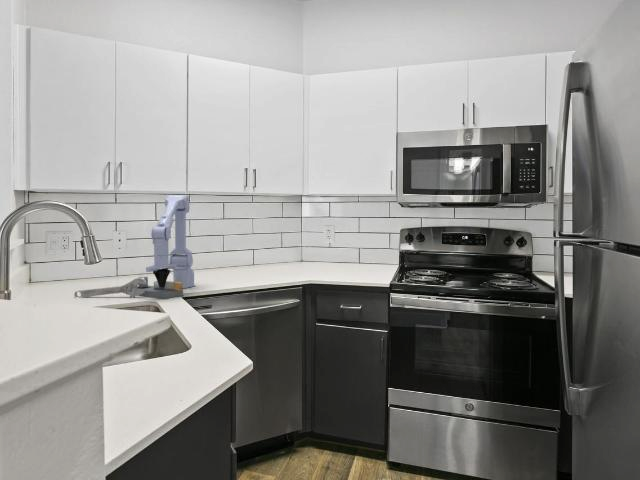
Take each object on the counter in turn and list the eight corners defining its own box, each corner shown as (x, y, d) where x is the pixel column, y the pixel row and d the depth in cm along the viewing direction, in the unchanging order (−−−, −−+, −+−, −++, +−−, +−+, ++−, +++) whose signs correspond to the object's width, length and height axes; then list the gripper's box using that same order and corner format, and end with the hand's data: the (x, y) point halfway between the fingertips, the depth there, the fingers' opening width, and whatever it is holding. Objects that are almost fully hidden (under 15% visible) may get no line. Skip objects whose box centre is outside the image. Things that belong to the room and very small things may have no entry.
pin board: (144, 290, 213) (144, 285, 212) (183, 295, 201) (183, 289, 201) (125, 293, 204) (125, 288, 204) (165, 299, 192) (165, 293, 192)
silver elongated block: (161, 286, 207) (161, 277, 207) (185, 289, 200) (185, 280, 200) (150, 288, 202) (150, 279, 202) (175, 291, 195) (175, 282, 195)
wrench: (77, 303, 197) (148, 295, 197) (75, 304, 195) (147, 296, 195) (74, 285, 196) (146, 277, 197) (72, 285, 194) (144, 277, 195)
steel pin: (143, 292, 208) (142, 276, 208) (150, 292, 207) (149, 277, 206) (136, 293, 205) (136, 277, 204) (143, 294, 203) (143, 278, 203)
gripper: (167, 253, 203) (168, 284, 204) (140, 255, 190) (141, 288, 191) (179, 253, 200) (180, 285, 201) (152, 256, 187) (153, 290, 188)
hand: (161, 287), depth 196 cm, fingers closed
